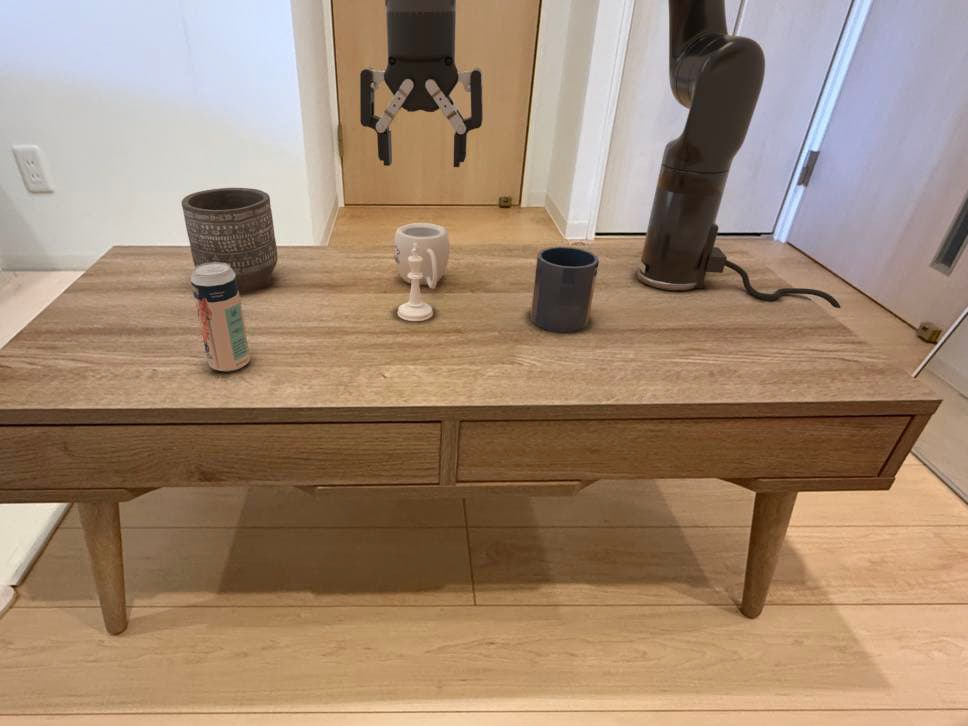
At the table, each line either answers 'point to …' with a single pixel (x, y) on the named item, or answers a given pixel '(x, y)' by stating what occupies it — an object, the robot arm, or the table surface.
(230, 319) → the beer can
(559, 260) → the slate cup
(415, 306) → the chess piece
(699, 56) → the robot arm
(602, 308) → the table surface
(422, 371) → the table surface
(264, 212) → the planter
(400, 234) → the mug
